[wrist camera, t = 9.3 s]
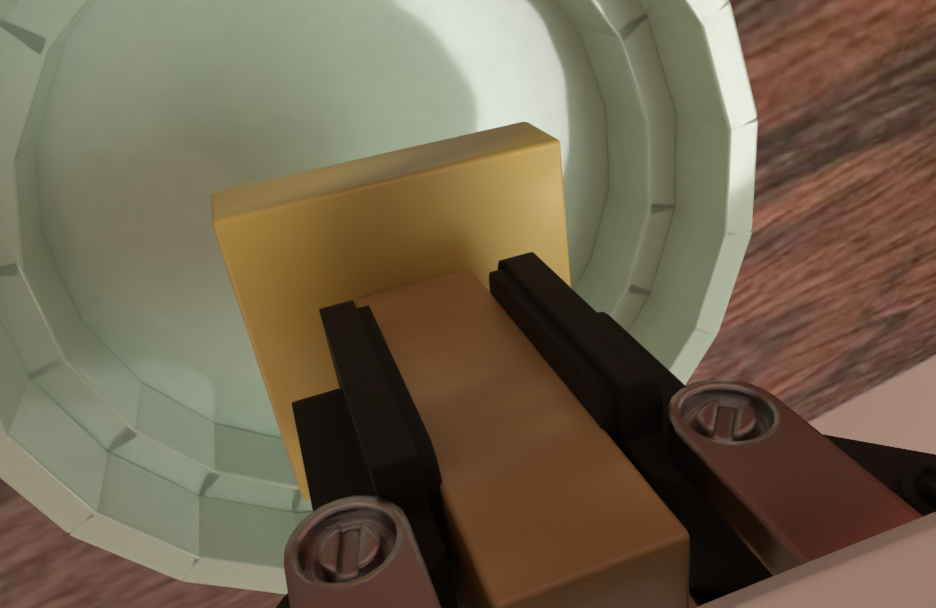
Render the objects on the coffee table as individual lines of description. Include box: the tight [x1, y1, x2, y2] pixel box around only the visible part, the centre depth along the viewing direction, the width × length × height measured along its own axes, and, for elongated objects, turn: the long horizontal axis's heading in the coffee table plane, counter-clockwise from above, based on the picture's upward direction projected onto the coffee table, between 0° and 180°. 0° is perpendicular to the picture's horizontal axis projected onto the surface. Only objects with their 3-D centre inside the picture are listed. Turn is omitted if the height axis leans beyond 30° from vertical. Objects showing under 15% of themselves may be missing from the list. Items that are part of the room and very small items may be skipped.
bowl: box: [0, 0, 758, 594], centre depth 17 cm, size 18×18×5 cm
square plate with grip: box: [211, 122, 690, 608], centre depth 10 cm, size 6×6×8 cm
